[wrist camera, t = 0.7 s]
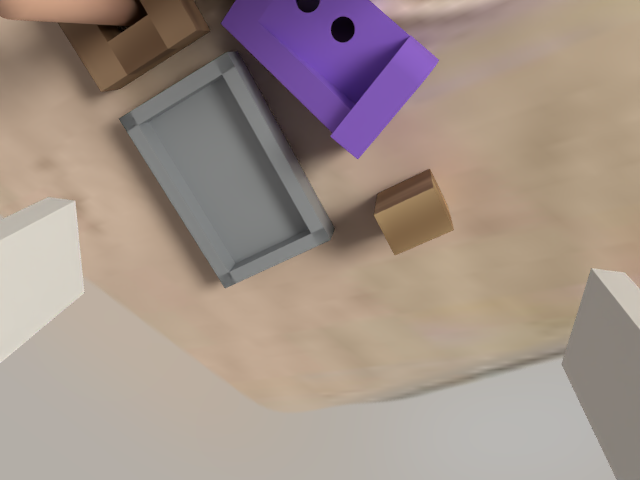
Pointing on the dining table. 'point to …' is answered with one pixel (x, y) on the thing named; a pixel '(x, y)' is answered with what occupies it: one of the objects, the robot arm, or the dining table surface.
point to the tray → (229, 170)
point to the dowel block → (136, 41)
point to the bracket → (335, 62)
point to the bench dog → (412, 212)
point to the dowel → (75, 11)
